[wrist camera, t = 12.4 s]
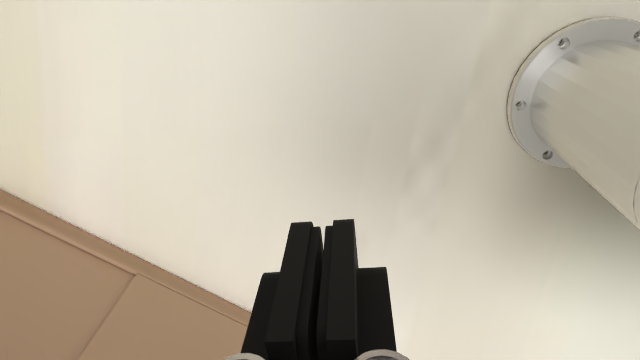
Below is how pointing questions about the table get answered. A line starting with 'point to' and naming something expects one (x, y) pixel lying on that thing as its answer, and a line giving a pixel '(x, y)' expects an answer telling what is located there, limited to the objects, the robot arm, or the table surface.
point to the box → (99, 299)
